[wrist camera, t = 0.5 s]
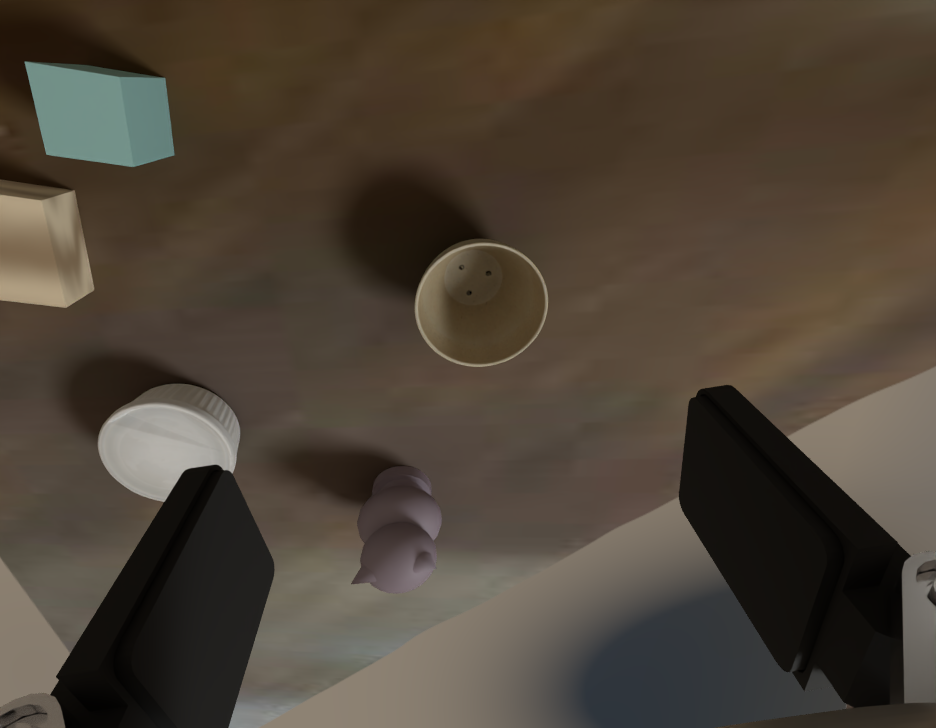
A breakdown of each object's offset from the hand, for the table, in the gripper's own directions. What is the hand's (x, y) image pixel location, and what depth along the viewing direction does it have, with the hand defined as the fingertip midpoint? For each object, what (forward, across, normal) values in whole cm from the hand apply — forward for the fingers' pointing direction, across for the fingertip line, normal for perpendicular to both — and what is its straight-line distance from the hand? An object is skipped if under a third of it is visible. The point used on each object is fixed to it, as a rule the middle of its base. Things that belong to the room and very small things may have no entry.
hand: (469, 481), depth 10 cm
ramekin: (+34, +27, +18) cm, 47 cm away
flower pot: (+34, -2, +8) cm, 35 cm away
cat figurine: (+34, +8, +30) cm, 46 cm away
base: (+34, +32, -1) cm, 46 cm away
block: (+34, +20, -8) cm, 40 cm away
